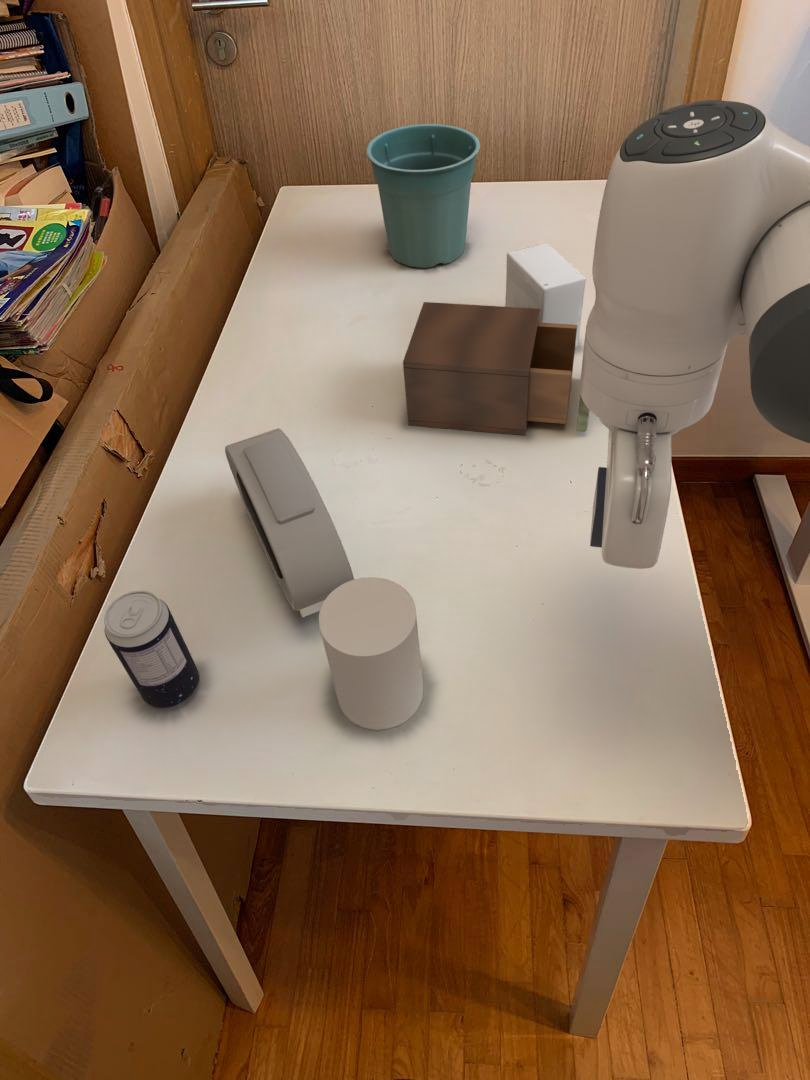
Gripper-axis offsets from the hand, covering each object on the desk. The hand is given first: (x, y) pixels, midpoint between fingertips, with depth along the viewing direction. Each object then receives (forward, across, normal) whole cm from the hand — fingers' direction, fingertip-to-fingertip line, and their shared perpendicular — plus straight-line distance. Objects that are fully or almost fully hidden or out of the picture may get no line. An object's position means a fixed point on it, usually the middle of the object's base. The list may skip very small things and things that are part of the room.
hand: (623, 514), depth 65 cm
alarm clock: (+19, +7, +33) cm, 38 cm away
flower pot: (+19, +72, +30) cm, 80 cm away
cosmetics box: (+19, +51, +10) cm, 55 cm away
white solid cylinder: (+19, -8, +20) cm, 28 cm away
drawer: (+18, +36, +7) cm, 41 cm away
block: (+2, 0, 0) cm, 2 cm away
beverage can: (+19, -11, +40) cm, 45 cm away
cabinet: (+18, +36, +17) cm, 44 cm away
